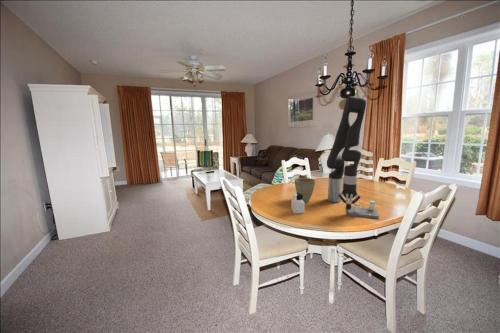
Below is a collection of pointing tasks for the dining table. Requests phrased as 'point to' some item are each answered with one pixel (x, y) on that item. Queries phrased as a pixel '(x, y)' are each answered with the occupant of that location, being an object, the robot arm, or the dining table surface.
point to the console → (363, 212)
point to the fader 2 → (371, 205)
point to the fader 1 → (357, 207)
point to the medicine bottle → (298, 203)
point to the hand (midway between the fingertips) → (348, 209)
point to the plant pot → (305, 187)
